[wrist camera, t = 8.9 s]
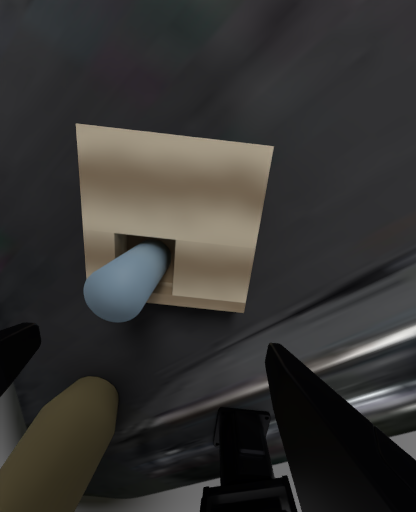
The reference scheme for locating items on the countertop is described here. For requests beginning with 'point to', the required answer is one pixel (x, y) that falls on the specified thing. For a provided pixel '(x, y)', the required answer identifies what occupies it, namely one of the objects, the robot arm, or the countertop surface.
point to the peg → (127, 281)
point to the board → (175, 209)
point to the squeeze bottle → (60, 449)
